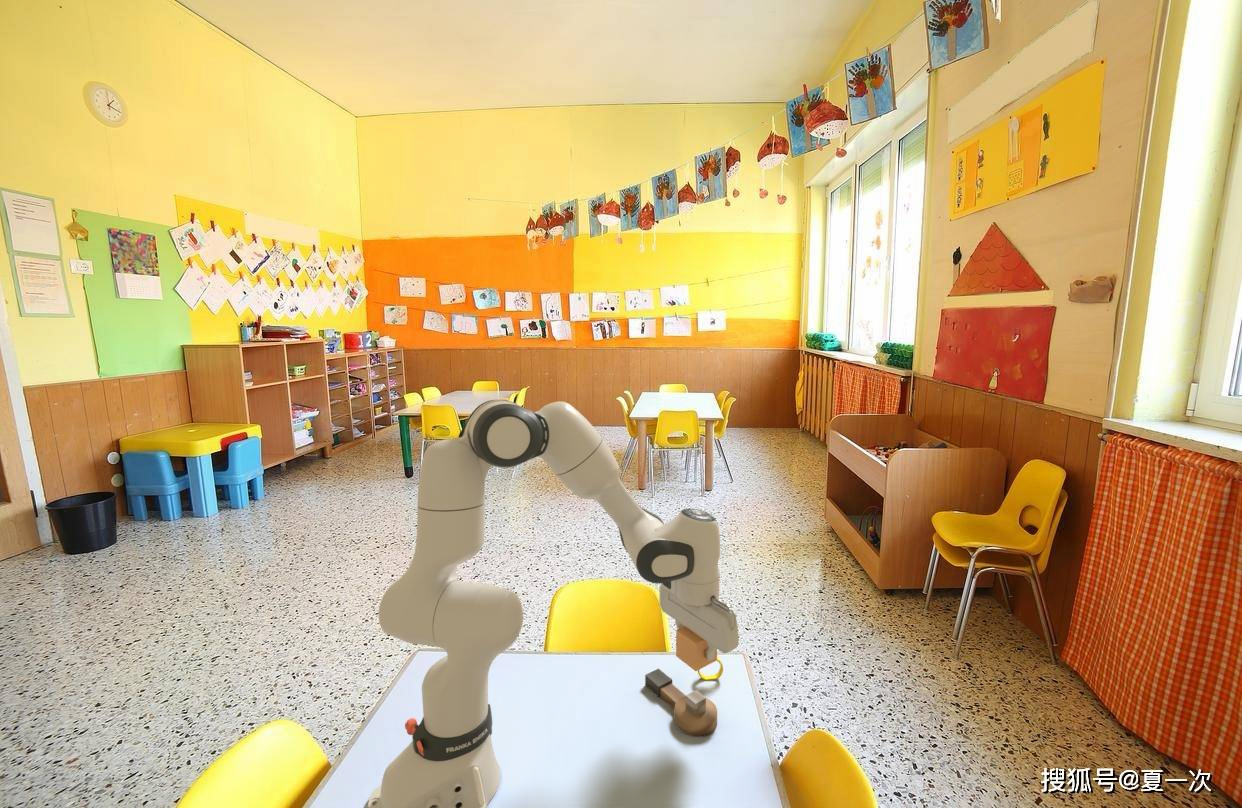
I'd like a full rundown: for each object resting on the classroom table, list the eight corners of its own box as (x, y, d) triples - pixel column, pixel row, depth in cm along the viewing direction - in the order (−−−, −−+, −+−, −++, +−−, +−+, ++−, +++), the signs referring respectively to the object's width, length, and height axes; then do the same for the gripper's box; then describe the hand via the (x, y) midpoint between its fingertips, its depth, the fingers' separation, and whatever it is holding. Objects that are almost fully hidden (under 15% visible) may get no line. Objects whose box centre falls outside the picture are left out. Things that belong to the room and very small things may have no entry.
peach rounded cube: (716, 660, 108) (717, 633, 107) (695, 671, 105) (696, 644, 104) (696, 646, 113) (697, 620, 112) (676, 656, 110) (676, 629, 109)
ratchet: (694, 743, 104) (694, 718, 104) (636, 689, 120) (636, 667, 119) (726, 724, 109) (726, 700, 109) (666, 674, 125) (666, 653, 124)
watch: (721, 674, 125) (721, 651, 124) (723, 682, 122) (724, 658, 122) (696, 675, 125) (696, 652, 124) (698, 682, 122) (698, 659, 121)
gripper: (747, 604, 100) (745, 669, 102) (676, 564, 116) (676, 621, 118) (723, 614, 96) (722, 682, 98) (654, 572, 113) (654, 631, 115)
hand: (696, 649), depth 109 cm, fingers closed on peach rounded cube, 6 cm apart
